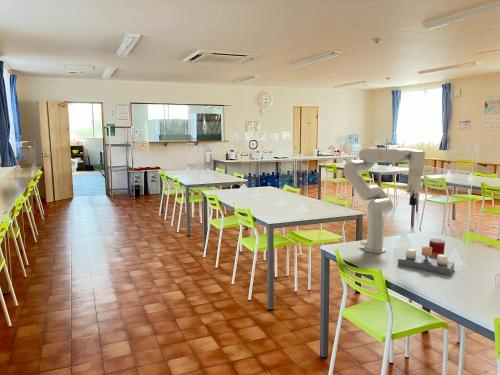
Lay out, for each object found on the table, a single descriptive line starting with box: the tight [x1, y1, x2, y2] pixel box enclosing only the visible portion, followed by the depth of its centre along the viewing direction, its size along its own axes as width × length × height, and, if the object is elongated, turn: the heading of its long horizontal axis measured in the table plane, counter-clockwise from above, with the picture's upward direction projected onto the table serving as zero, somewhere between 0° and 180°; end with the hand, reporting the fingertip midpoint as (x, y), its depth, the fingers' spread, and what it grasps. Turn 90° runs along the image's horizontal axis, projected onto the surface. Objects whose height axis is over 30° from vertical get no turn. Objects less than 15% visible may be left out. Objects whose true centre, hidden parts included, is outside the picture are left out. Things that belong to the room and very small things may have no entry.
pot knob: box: [421, 245, 432, 261], centre depth 223 cm, size 5×5×8 cm
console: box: [397, 252, 455, 277], centre depth 224 cm, size 26×12×4 cm, turn 54°
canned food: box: [428, 238, 446, 259], centre depth 238 cm, size 8×8×11 cm
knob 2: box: [437, 254, 449, 265], centre depth 218 cm, size 5×5×8 cm
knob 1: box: [405, 248, 417, 259], centre depth 228 cm, size 5×5×8 cm
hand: (412, 204), depth 231 cm, fingers closed
